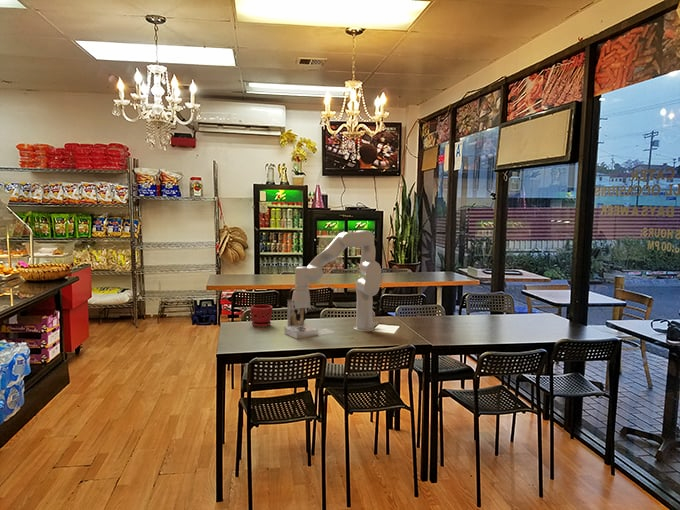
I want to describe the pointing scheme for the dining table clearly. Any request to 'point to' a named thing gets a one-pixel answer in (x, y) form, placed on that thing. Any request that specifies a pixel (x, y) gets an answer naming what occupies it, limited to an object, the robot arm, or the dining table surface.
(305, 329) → the socket block
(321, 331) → the mat
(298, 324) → the peg
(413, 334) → the dining table surface
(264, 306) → the plant pot
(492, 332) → the dining table surface
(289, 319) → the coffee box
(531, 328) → the dining table surface
